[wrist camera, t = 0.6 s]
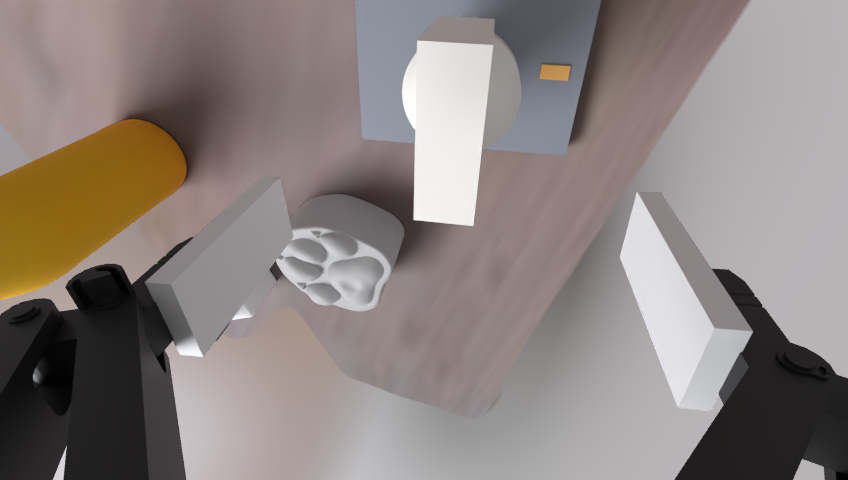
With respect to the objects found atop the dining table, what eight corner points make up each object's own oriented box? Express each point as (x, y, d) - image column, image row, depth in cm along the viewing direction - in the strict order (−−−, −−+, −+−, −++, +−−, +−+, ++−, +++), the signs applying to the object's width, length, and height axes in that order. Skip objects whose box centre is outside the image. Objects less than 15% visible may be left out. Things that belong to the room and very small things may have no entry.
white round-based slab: (409, 8, 31) (367, 37, 21) (530, 14, 30) (545, 48, 20) (408, 160, 37) (375, 237, 27) (506, 169, 36) (509, 251, 26)
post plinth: (359, -40, 37) (328, -37, 30) (602, -30, 35) (627, -25, 28) (366, 131, 45) (344, 163, 38) (563, 147, 43) (574, 183, 36)
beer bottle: (96, 140, 50) (-263, 312, 27) (143, 101, 47) (-225, 260, 23) (158, 202, 54) (-108, 401, 30) (205, 170, 51) (-54, 368, 27)
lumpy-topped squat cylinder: (384, 281, 56) (368, 329, 49) (289, 244, 55) (258, 288, 48) (411, 219, 50) (397, 264, 43) (305, 176, 49) (273, 215, 42)
